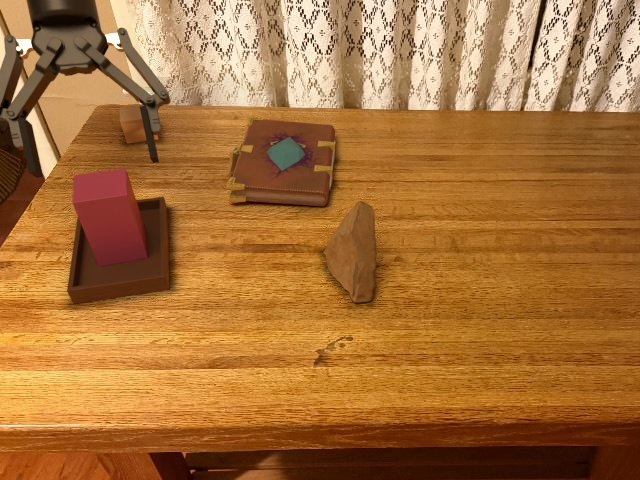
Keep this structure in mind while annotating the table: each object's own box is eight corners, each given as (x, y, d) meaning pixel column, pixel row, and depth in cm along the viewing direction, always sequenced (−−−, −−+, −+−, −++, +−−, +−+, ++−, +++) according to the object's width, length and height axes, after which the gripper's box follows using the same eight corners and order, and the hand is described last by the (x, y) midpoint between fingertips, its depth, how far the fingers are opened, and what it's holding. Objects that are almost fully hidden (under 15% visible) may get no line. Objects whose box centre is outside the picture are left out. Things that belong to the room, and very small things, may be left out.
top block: (99, 266, 75) (72, 202, 68) (99, 238, 79) (73, 174, 72) (148, 258, 77) (127, 194, 70) (146, 230, 81) (125, 167, 74)
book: (338, 131, 106) (338, 105, 102) (329, 214, 88) (330, 186, 85) (245, 123, 104) (242, 96, 101) (217, 206, 87) (213, 178, 83)
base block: (126, 143, 98) (120, 121, 95) (126, 129, 101) (119, 107, 98) (158, 139, 99) (152, 117, 96) (156, 125, 102) (151, 103, 100)
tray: (84, 219, 83) (78, 206, 82) (167, 209, 86) (163, 196, 84) (73, 304, 72) (66, 290, 70) (169, 289, 74) (165, 276, 73)
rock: (393, 298, 72) (404, 239, 78) (349, 256, 67) (365, 196, 73) (327, 320, 78) (342, 263, 84) (282, 282, 72) (302, 224, 78)
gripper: (-73, -15, 65) (-31, 174, 66) (163, -25, 72) (199, 146, 73) (-42, 17, 73) (-5, 187, 73) (170, 5, 79) (202, 161, 80)
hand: (97, 167), depth 73 cm, fingers open, 13 cm apart
